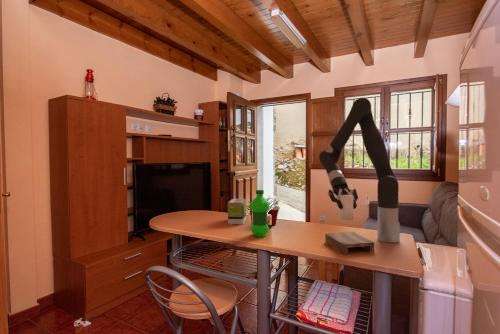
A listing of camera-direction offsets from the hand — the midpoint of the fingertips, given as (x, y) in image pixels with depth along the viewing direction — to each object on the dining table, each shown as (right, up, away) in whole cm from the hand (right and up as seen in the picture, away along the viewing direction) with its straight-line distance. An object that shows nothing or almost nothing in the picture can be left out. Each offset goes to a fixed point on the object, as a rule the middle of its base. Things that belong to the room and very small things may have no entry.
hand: (348, 208), depth 121 cm
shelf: (+1, -19, +2) cm, 19 cm away
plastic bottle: (-41, -19, +22) cm, 50 cm away
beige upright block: (0, -5, +2) cm, 6 cm away
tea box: (-54, -18, +53) cm, 78 cm away
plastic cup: (-32, -18, +44) cm, 57 cm away
